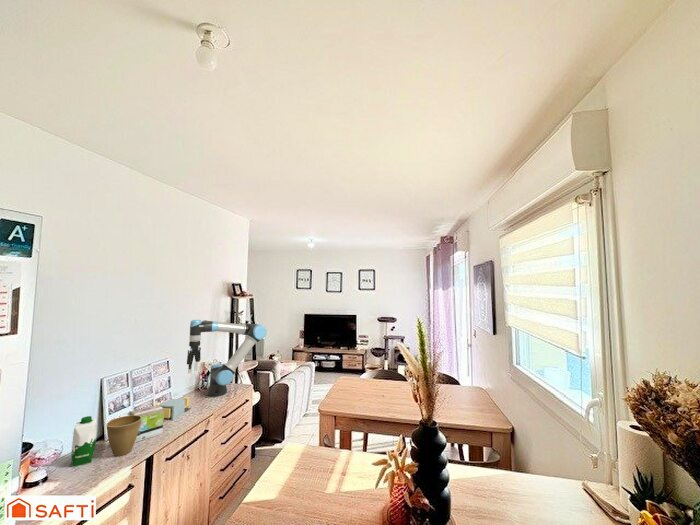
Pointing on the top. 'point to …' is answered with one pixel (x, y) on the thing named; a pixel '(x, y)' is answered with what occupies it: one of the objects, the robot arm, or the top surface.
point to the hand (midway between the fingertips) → (193, 372)
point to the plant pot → (123, 433)
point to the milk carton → (84, 441)
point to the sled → (169, 410)
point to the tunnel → (175, 407)
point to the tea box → (149, 421)
